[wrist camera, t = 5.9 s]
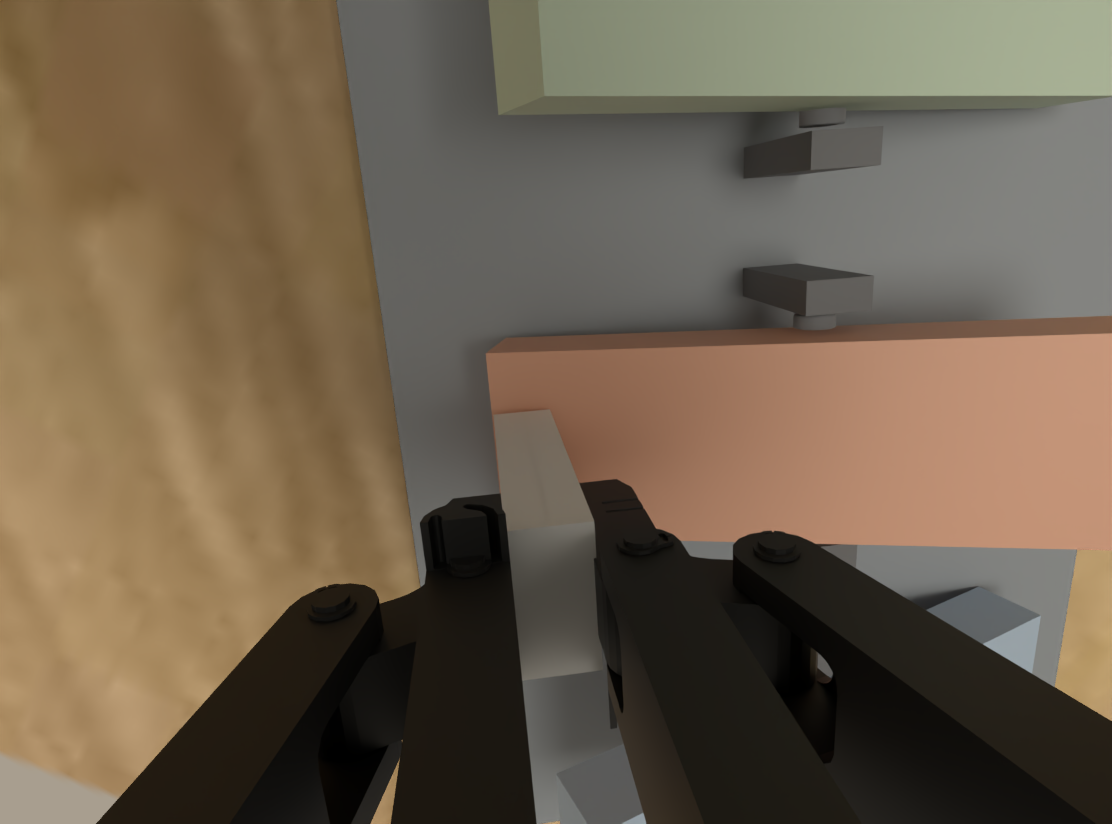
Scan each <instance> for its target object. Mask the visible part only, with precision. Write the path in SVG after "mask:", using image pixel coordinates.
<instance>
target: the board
mask: <svg viewBox="0 0 1112 824" xmlns="http://www.w3.org/2000/svg"><path fill="white" fill-rule="evenodd" d="M336 2H337V9H338V16H339V23H340V30H341V37H342V44H343V51H344V58H345V65H346V72H347V79H348V85H349V92H350V99H351V106H352V113H353V120H354V127H355V134H356V141H357V148H358V155H359V162H360V169H361V176H362V183H363V190H364V197H365V204H366V211H367V218H368V225H369V232H370V238H371V245H372V252H373V259H374V266H375V273H376V280H377V287H378V294H379V301H380V308H381V315H382V322H383V329H384V336H385V343H386V350H387V357H388V364H389V371H390V378H391V384H392V391H393V398H394V405H395V412H396V419H397V426H398V433H399V440H400V447H401V454H402V461H403V468H404V475H405V482H406V489H407V496H408V503H409V510H410V517H411V524H412V531H413V537H414V544H415V551H416V558H417V565H418V572H419V579H420V586H421V587H422V586H423V585H424V584H425V577H426V566H425V558H424V551H423V544H422V537H421V529H420V522H421V520H422V519H423V517H424V516H425V515H426V514H428V513H429V512H431V511H432V510H434V509H437V508H439V507H442V506H445V505H447V504H448V503H449V502H450V501H451V500H452V499H453V498H462V497H471V496H481V495H490V494H499V493H500V490H499V480H498V470H497V460H496V450H495V441H494V431H493V421H492V411H491V401H490V391H489V382H488V372H487V362H486V353H487V352H488V351H489V350H491V349H492V348H493V347H495V346H496V345H497V344H498V343H500V342H501V341H502V340H504V339H505V338H513V337H541V336H568V335H596V334H623V333H651V332H678V331H706V330H733V329H761V328H788V327H793V315H794V314H796V313H797V314H800V315H803V316H815V315H827V314H836V326H843V325H871V324H898V323H926V322H953V321H981V320H1008V319H1036V318H1063V317H1091V316H1112V97H1108V98H1101V99H1095V100H1088V101H1081V102H1075V103H1068V104H1062V105H1055V106H1048V107H1042V108H1017V109H939V110H861V111H846V119H845V123H843V124H839V125H832V126H824V127H813V128H799V111H782V112H704V113H626V114H548V115H498V104H497V93H496V81H495V70H494V58H493V47H492V35H491V24H490V13H489V1H488V0H336ZM681 542H682V544H683V545H684V547H685V549H686V550H687V552H688V553H689V555H690V556H693V557H698V558H708V559H725V560H733V544H734V543H735V542H712V541H681ZM816 545H818V546H820V547H821V548H823V549H825V550H826V551H828V552H830V553H831V554H833V555H835V556H836V557H838V558H840V559H841V560H843V561H845V562H846V563H848V564H850V565H851V566H853V567H855V568H856V569H858V570H860V571H861V572H863V573H865V574H866V575H868V576H870V577H871V578H873V579H875V580H876V581H878V582H880V583H881V584H883V585H885V586H886V587H888V588H890V589H892V590H893V591H895V592H897V593H898V594H900V595H902V596H903V597H905V598H907V599H908V600H910V601H912V602H913V603H915V604H917V605H918V606H920V607H922V608H923V609H925V610H927V609H929V608H932V607H934V606H936V605H938V604H941V603H943V602H945V601H947V600H950V599H952V598H954V597H957V596H959V595H961V594H963V593H966V592H968V591H970V590H972V589H975V588H977V587H981V588H983V589H985V590H987V591H990V592H992V593H994V594H996V595H998V596H1000V597H1003V598H1005V599H1007V600H1009V601H1011V602H1013V603H1015V604H1018V605H1020V606H1022V607H1024V608H1026V609H1028V610H1031V611H1033V612H1035V613H1037V614H1039V615H1041V618H1040V625H1039V632H1038V638H1037V645H1036V651H1035V658H1034V664H1033V671H1032V674H1033V675H1035V676H1037V677H1038V678H1040V679H1042V680H1043V681H1045V682H1047V683H1048V684H1050V685H1052V686H1053V687H1055V681H1056V675H1057V669H1058V663H1059V657H1060V650H1061V644H1062V638H1063V632H1064V626H1065V620H1066V614H1067V608H1068V602H1069V596H1070V590H1071V584H1072V578H1073V572H1074V565H1075V559H1076V553H1077V550H1075V549H1029V548H984V547H939V546H893V545H848V544H816ZM602 661H603V670H600V671H593V672H585V673H578V674H570V675H563V676H554V677H547V678H539V679H532V680H524V681H522V683H523V693H524V703H525V713H526V723H527V733H528V743H529V753H530V763H531V773H532V783H533V792H534V802H535V812H536V822H537V824H541V823H548V822H555V821H560V814H559V803H558V791H557V780H556V774H557V773H559V772H561V771H563V770H566V769H568V768H570V767H573V766H575V765H577V764H579V763H582V762H584V761H586V760H588V759H591V758H593V757H595V756H597V755H600V754H602V753H604V752H606V751H609V750H611V749H613V748H615V747H618V746H620V745H622V744H624V743H623V740H622V736H621V733H620V729H619V726H618V722H617V728H615V729H610V714H609V697H608V679H607V662H606V659H605V656H604V653H603V649H602ZM818 668H819V669H820V670H821V671H822V672H823V673H825V674H826V675H827V676H832V675H833V672H832V670H831V669H830V667H829V665H828V663H827V662H826V661H825V660H824V658H823V657H822V656H821V655H820V654H819V653H818Z"/></svg>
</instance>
